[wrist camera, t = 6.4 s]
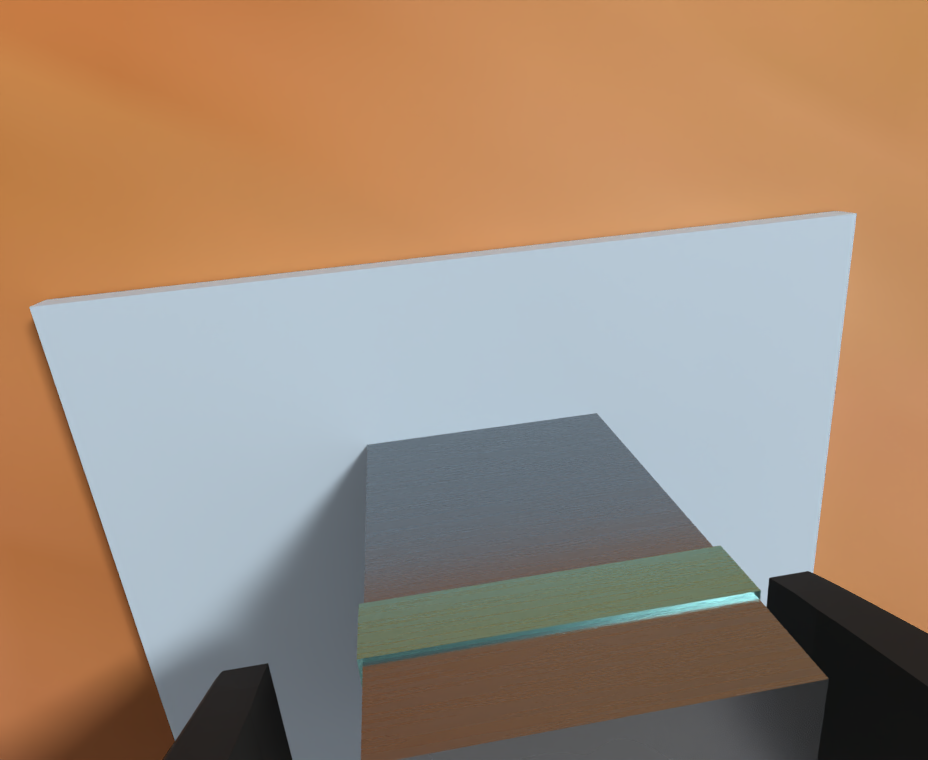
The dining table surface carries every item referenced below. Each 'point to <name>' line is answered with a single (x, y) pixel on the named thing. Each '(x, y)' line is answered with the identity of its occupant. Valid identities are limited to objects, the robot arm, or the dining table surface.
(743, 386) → the mat
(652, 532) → the block
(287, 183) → the dining table surface
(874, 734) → the robot arm
